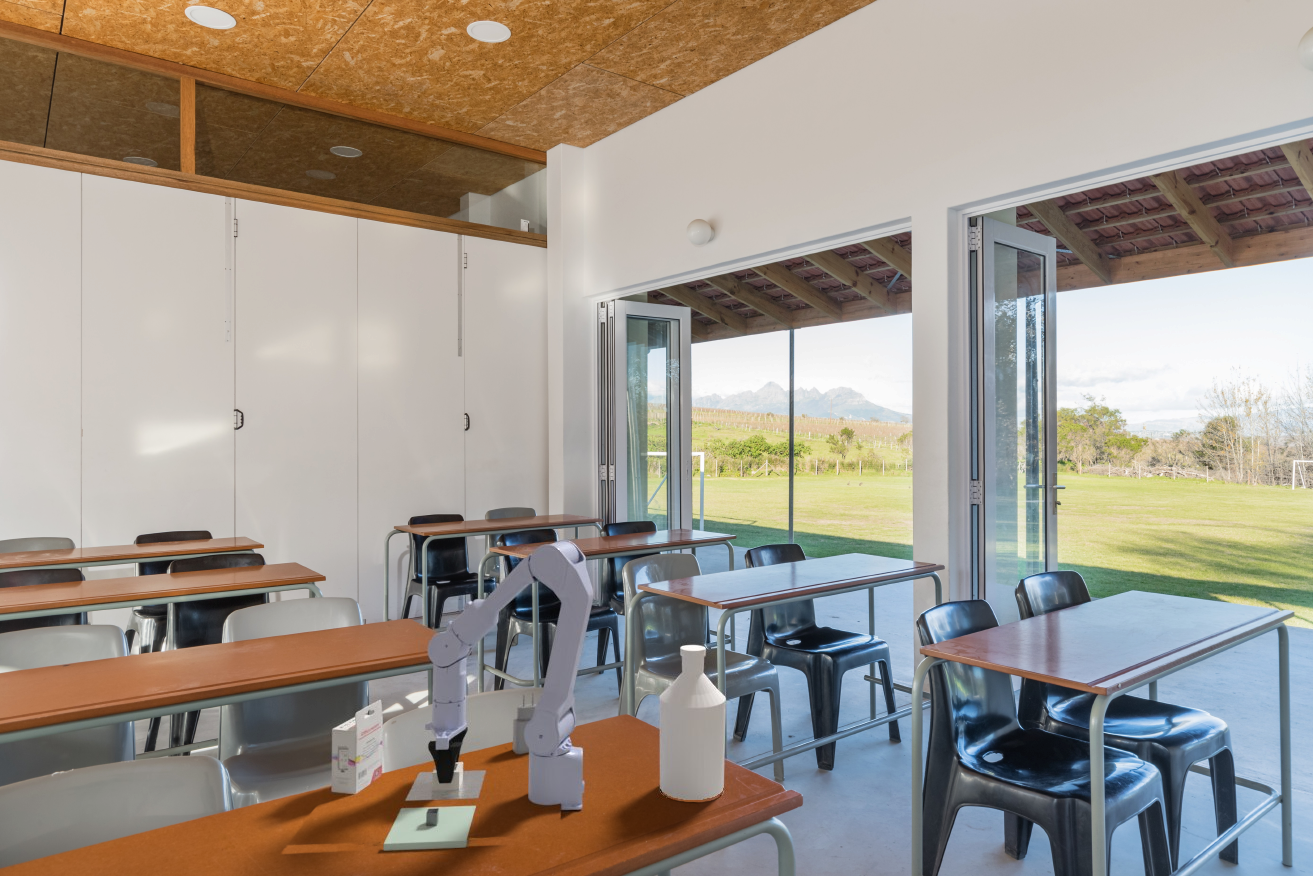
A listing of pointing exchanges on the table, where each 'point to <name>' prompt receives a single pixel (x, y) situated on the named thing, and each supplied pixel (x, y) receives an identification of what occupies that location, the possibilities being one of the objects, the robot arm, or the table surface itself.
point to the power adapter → (522, 725)
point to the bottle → (692, 732)
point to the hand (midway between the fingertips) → (447, 776)
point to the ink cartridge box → (357, 751)
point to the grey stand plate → (466, 791)
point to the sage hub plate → (430, 828)
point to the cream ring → (455, 781)
